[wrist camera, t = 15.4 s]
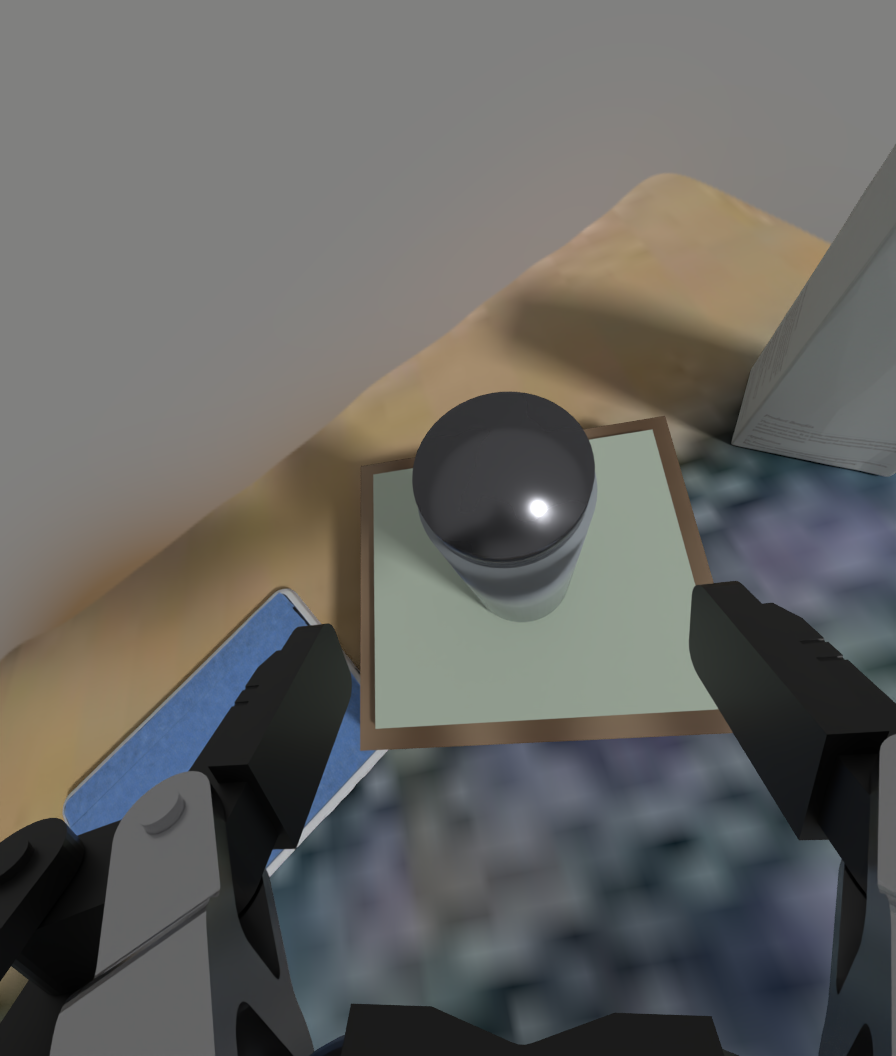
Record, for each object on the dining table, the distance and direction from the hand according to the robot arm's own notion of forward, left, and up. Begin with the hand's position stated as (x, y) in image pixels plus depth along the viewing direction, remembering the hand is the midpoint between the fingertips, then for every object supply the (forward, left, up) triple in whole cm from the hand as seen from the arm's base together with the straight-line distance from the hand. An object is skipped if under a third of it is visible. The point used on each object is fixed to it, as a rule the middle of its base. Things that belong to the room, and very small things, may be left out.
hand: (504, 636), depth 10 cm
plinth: (0, +4, -16) cm, 16 cm away
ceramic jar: (0, +4, -12) cm, 12 cm away
